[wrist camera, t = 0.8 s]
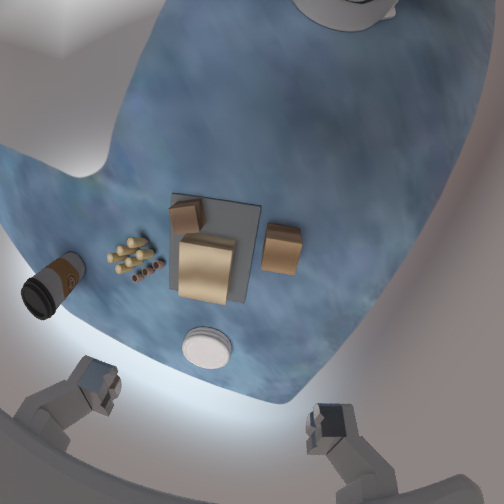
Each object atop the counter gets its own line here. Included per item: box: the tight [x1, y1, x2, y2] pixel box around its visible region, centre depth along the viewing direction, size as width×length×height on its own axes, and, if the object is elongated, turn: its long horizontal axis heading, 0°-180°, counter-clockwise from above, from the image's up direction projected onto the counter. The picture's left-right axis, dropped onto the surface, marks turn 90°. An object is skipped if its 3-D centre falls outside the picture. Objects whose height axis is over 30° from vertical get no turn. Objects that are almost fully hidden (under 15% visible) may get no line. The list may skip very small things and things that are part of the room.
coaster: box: [182, 327, 231, 369], centre depth 54 cm, size 10×10×4 cm
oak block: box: [261, 223, 303, 275], centre depth 41 cm, size 5×5×6 cm
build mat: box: [169, 193, 261, 303], centre depth 45 cm, size 18×14×1 cm
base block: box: [179, 233, 236, 305], centre depth 44 cm, size 10×8×4 cm
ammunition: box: [107, 238, 165, 282], centre depth 45 cm, size 5×7×8 cm
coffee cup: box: [21, 252, 85, 320], centre depth 43 cm, size 8×8×15 cm
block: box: [169, 198, 206, 235], centre depth 40 cm, size 4×4×4 cm
